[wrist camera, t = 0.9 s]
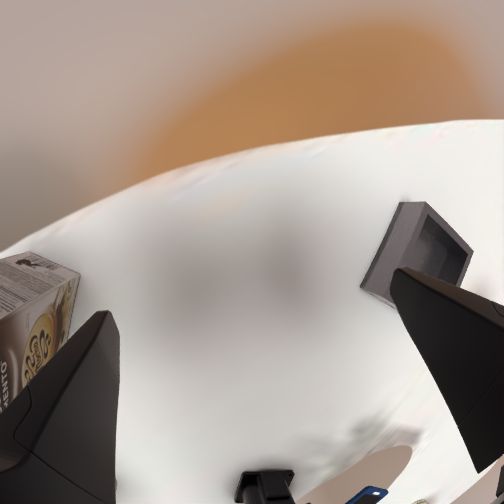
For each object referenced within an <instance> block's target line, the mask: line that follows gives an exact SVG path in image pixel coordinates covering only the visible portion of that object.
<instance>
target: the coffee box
mask: <svg viewBox="0 0 504 504" xmlns="http://www.w3.org/2000/svg"><path fill="white" fill-rule="evenodd" d="M79 278H80V274H78V273H76V272H73V271H71V270H69V269H66V268H64V267H62V266H59V265H57V264H55V263H52V262H50V261H48V260H46V259H43V258H41V257H39V256H37V255H34V254H32V253H30V252H24V253H21V254H18V255H14V256H10V257H6V258H3V259H0V413H1V412H2V411H3V410H4V409H5V408H6V407H7V406H8V405H9V404H10V403H11V401H12V400H13V399H14V398H15V397H16V396H17V395H18V394H19V393H20V392H21V390H22V389H23V388H24V387H25V386H26V385H27V384H28V383H29V381H30V380H31V379H32V378H33V377H34V376H35V375H36V374H37V373H38V372H39V370H40V369H41V368H42V367H43V366H44V365H45V364H46V363H47V362H48V361H49V360H50V359H51V358H52V356H53V355H54V354H55V353H56V352H57V351H58V350H59V349H60V348H61V347H62V346H63V345H64V344H65V343H66V342H67V338H68V332H69V326H70V320H71V315H72V310H73V305H74V300H75V295H76V291H77V287H78V282H79Z"/></svg>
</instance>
